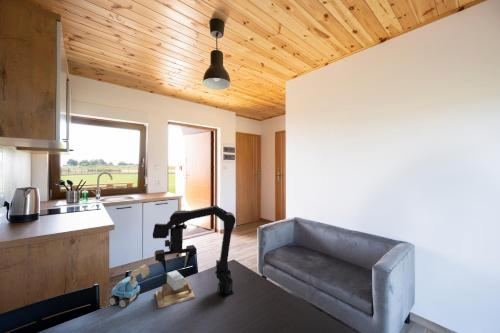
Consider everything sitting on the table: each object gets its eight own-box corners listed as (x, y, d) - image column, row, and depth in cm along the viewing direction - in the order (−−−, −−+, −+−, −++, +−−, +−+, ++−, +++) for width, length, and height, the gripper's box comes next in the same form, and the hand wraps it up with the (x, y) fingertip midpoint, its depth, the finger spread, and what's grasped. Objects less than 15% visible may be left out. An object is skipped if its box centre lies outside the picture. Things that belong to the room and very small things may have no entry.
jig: (188, 285, 113) (188, 280, 113) (194, 298, 102) (194, 292, 102) (155, 293, 105) (155, 287, 105) (158, 308, 94) (158, 301, 94)
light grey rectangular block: (166, 282, 105) (167, 273, 105) (175, 279, 108) (176, 270, 108) (174, 290, 99) (174, 280, 99) (183, 286, 102) (183, 277, 102)
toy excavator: (139, 311, 92) (140, 271, 92) (106, 305, 95) (107, 266, 95) (152, 299, 100) (153, 262, 100) (121, 294, 104) (122, 258, 104)
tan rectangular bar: (185, 288, 108) (185, 279, 108) (187, 293, 104) (187, 284, 104) (162, 294, 103) (162, 284, 103) (163, 299, 99) (163, 289, 99)
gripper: (191, 230, 115) (191, 259, 115) (153, 235, 106) (152, 266, 106) (197, 237, 105) (196, 268, 105) (156, 242, 96) (155, 277, 96)
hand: (175, 270), depth 103 cm, fingers open, 9 cm apart
